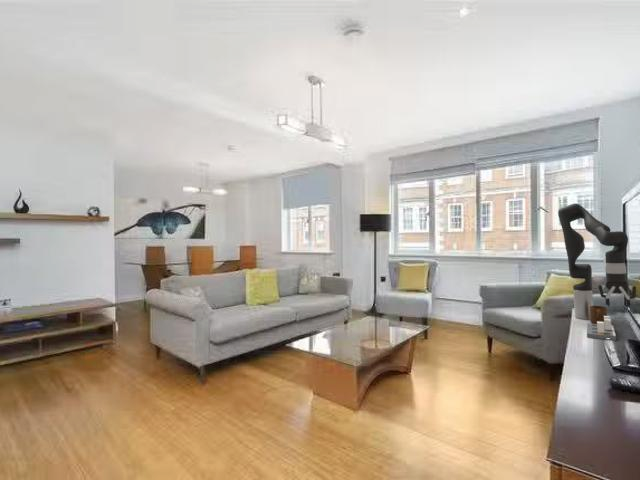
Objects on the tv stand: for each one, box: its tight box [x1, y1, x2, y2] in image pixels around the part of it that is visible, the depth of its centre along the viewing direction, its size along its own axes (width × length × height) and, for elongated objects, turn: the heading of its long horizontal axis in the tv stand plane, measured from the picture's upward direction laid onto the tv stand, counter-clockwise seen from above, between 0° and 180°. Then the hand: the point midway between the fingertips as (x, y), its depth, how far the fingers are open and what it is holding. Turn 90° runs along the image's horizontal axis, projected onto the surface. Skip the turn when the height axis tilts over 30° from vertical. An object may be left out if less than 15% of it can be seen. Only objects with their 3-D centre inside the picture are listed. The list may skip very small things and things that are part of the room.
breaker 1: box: [597, 321, 604, 333], centre depth 167 cm, size 3×2×5 cm
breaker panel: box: [586, 322, 617, 341], centre depth 173 cm, size 24×11×2 cm, turn 141°
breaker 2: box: [604, 318, 612, 330], centre depth 171 cm, size 3×2×5 cm
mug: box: [589, 305, 608, 324], centre depth 190 cm, size 12×8×9 cm, turn 144°
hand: (618, 306), depth 163 cm, fingers open, 6 cm apart
